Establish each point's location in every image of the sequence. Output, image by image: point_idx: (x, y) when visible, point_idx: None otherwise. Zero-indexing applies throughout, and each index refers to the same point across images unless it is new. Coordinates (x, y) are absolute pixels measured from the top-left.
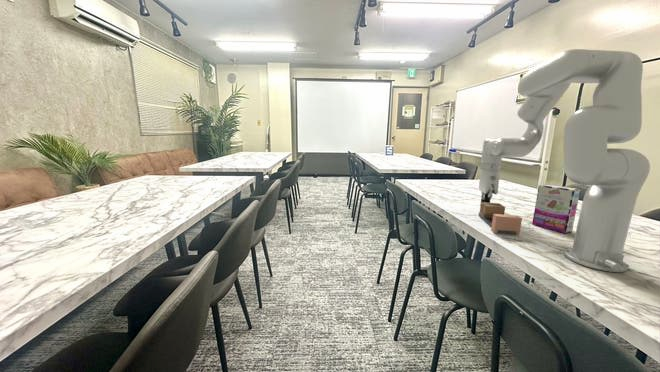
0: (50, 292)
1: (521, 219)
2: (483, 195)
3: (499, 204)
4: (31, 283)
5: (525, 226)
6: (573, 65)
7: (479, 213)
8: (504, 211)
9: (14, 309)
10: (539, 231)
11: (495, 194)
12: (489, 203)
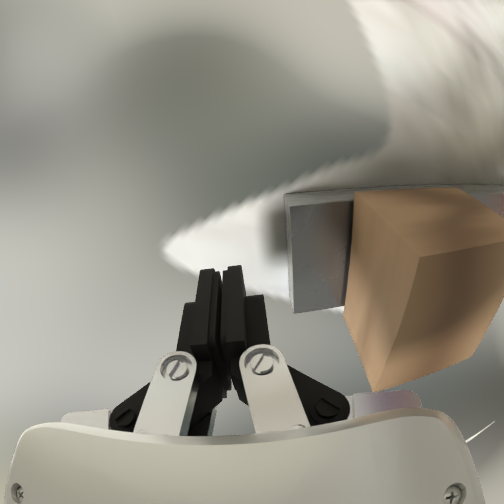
0: (476, 434)
1: None
2: (209, 428)
3: (460, 266)
4: (467, 441)
5: (452, 48)
6: None
7: (311, 308)
8: (500, 216)
9: (484, 429)
10: (495, 34)
11: (403, 413)
12: (419, 345)
